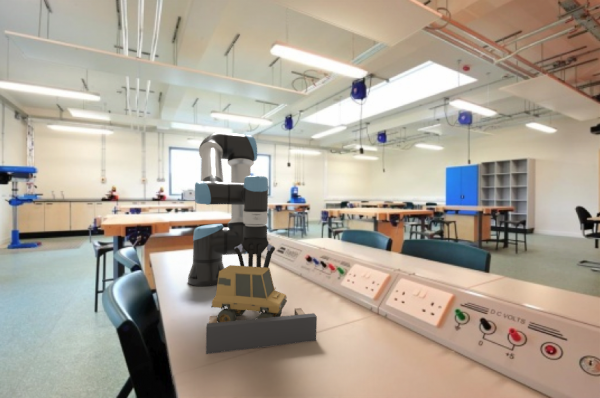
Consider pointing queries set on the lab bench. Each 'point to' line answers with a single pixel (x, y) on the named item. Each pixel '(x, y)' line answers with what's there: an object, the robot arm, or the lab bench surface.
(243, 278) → the toy car
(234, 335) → the wall
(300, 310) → the bay kerbs
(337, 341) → the lab bench surface
